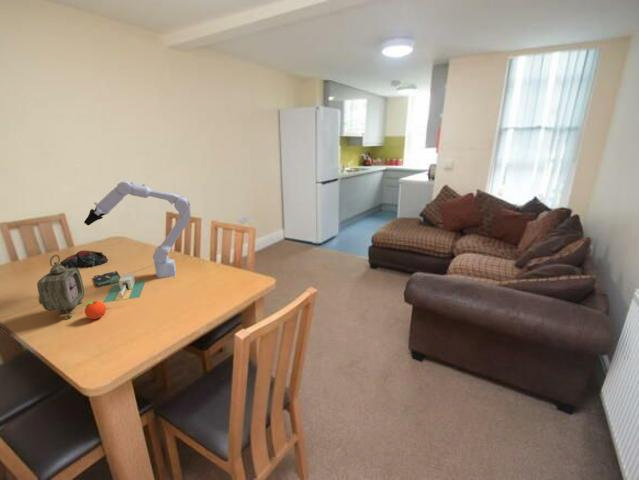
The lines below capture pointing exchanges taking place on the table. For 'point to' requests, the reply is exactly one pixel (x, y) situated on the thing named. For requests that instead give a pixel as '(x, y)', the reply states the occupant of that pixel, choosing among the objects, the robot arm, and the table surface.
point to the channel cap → (127, 280)
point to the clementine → (95, 310)
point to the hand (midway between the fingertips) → (88, 221)
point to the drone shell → (84, 259)
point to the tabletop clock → (61, 288)
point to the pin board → (124, 292)
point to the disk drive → (107, 279)
